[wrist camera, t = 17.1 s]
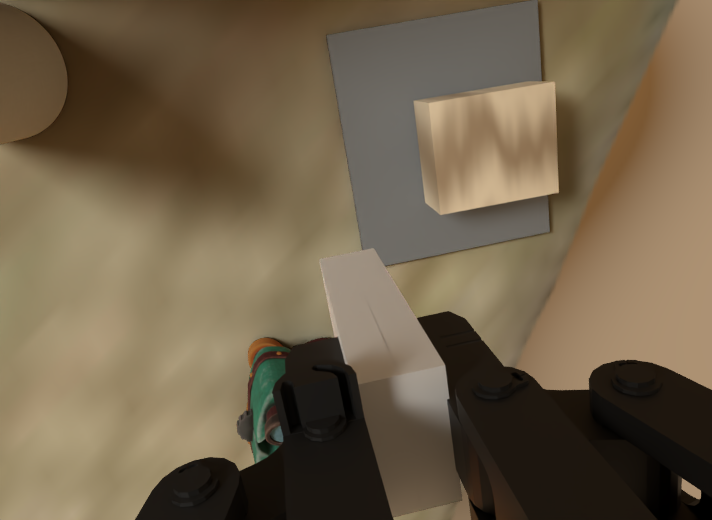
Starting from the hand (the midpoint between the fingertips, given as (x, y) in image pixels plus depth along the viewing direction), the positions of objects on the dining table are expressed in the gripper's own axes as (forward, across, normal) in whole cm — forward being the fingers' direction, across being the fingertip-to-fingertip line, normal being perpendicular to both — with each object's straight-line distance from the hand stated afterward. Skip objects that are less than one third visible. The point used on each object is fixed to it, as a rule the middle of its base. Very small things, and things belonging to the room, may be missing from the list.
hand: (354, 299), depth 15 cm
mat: (+24, +10, 0) cm, 26 cm away
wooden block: (+22, +8, 0) cm, 23 cm away
